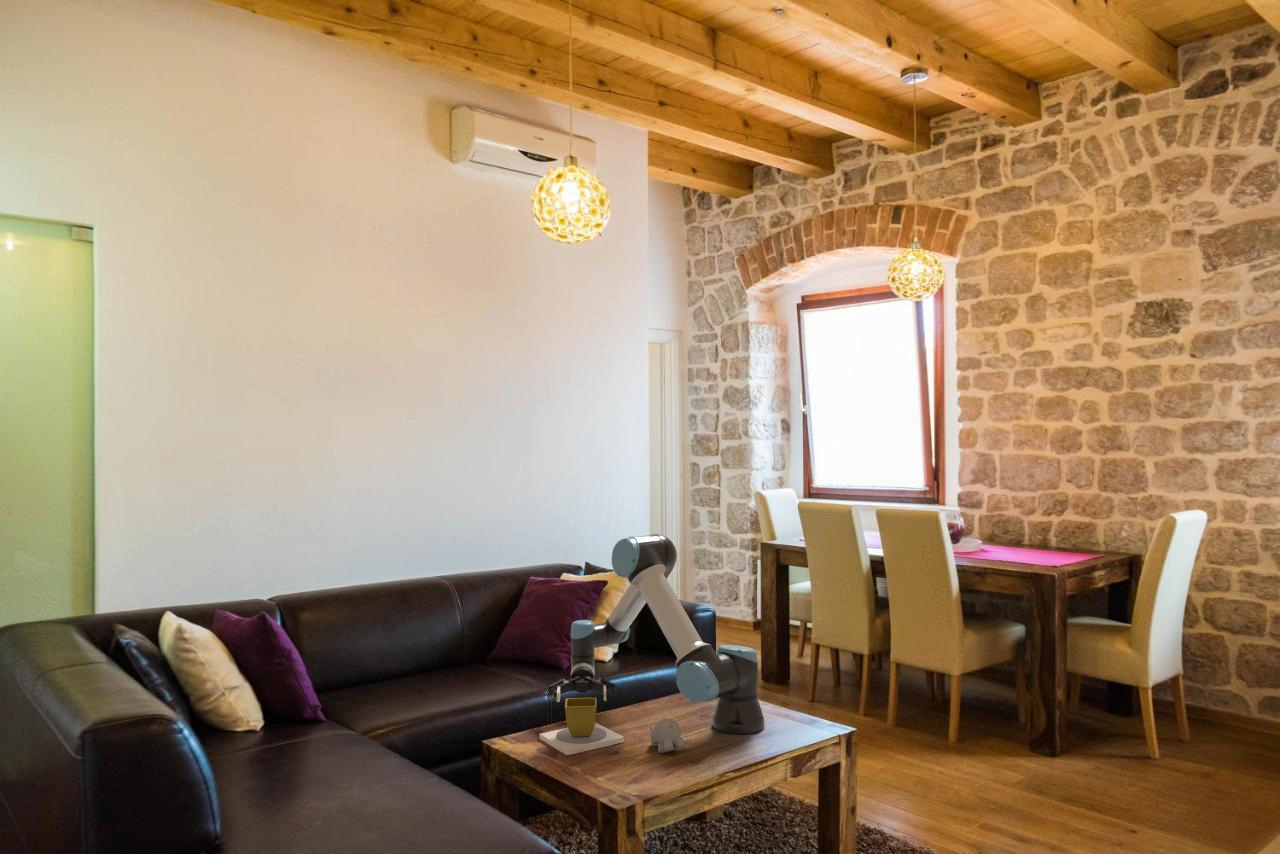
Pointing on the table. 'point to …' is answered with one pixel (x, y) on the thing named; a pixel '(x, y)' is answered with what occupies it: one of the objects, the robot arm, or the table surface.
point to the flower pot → (580, 716)
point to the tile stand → (581, 740)
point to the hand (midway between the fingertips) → (581, 696)
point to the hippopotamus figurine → (666, 736)
